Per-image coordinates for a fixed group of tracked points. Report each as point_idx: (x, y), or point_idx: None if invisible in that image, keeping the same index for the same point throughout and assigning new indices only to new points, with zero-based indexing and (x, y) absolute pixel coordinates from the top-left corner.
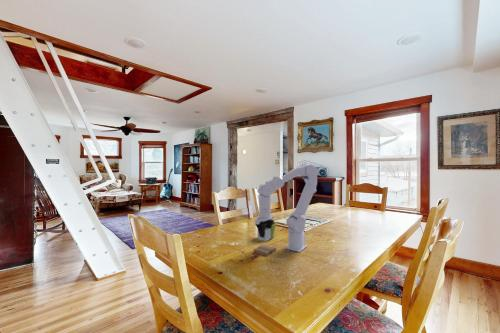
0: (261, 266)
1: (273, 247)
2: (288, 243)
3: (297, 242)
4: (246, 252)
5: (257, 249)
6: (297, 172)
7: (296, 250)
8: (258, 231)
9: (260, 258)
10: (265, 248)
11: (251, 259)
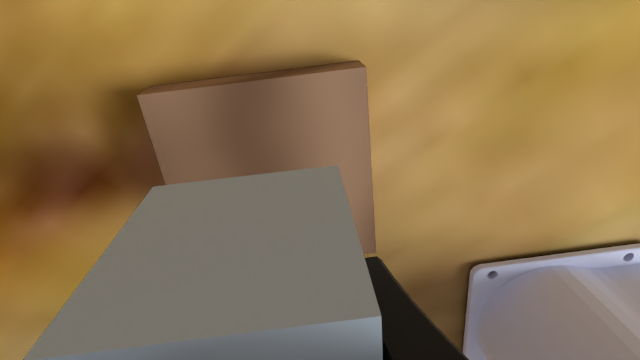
0: (13, 337)
1: (370, 229)
2: (534, 304)
3: None
4: (64, 13)
5: (177, 137)
6: None
7: (467, 357)
8: (76, 322)
9: (107, 243)
10: None
11: (6, 200)
